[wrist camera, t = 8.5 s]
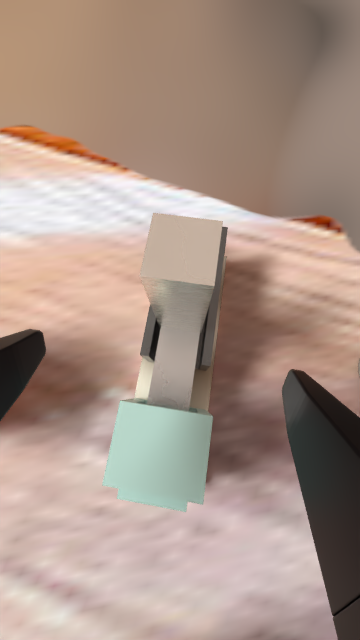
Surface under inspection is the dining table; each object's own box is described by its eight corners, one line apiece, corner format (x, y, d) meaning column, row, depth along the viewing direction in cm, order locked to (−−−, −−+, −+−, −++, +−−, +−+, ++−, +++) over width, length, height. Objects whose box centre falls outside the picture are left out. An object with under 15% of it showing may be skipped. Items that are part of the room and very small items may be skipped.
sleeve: (170, 248, 24) (166, 220, 20) (220, 255, 24) (227, 227, 20) (148, 361, 21) (140, 355, 17) (205, 370, 21) (210, 366, 17)
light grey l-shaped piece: (168, 300, 21) (153, 212, 11) (204, 305, 21) (222, 221, 11) (140, 455, 18) (80, 545, 8) (182, 463, 18) (178, 564, 7)
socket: (136, 398, 20) (120, 400, 15) (205, 409, 20) (213, 416, 15) (122, 471, 19) (98, 501, 14) (196, 485, 18) (201, 521, 13)
